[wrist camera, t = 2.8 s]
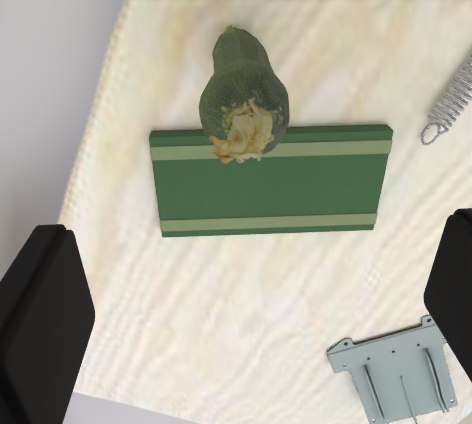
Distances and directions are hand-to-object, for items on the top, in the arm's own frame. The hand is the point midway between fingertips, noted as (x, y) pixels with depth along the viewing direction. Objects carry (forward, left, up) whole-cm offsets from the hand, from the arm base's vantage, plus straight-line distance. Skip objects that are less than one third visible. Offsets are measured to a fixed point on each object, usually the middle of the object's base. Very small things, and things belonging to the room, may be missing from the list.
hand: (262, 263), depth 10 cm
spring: (+3, +18, -25) cm, 31 cm away
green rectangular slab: (+11, +3, -25) cm, 27 cm away
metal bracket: (+38, +20, -25) cm, 50 cm away
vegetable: (0, 0, -25) cm, 25 cm away
